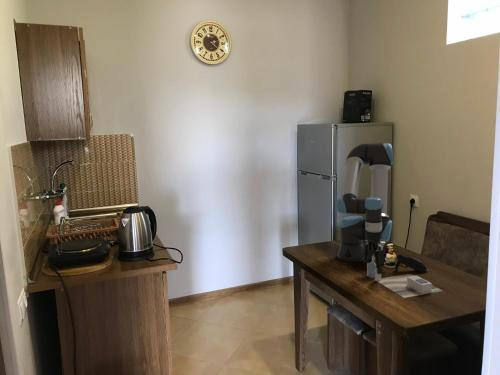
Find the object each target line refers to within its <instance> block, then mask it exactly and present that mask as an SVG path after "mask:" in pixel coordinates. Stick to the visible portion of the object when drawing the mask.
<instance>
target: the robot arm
mask: <svg viewBox="0 0 500 375" xmlns="http://www.w3.org/2000/svg"><path fill="white" fill-rule="evenodd" d="M394 163H395V162H394V153H393V146H392V144H390V143H387V142H386V143H384V142H382V143H378V142H377V143H360V144H358V145H356V146H355V147H354V148H352V149H351V150H350V151H349V153H348V154H347V156H346V159H345V165H346V170H345V171H346V172H345V177H344V184H343V190H342V197H338V198H337V200H336V211H337V213H340V214H356V215H349V216H345V217H343V218H341V220H340V245H339V248H338V252H337V258H338V259H339V260H340V261H343V262H348V263H360V262H363V261H365V263H366V271H367V272H366V277H369V264H370V263H371V262H372V256H374V262H375V264H376V266H375V278H374V279H375V281H376V282H377V281H378V280H381V278H382V268H384V267H385V246H384V245H381V242H382V243H385V242H386V243H387V242H389V241H390V239H391V238H390V237H391V232H392V226H393V221H392V220H391V219H390V216H389V215H388V214H387V213H388V184H389V182H388V181H389V178H388V177H389V175H388V174H389V170H390V169H391V168H392V165H394ZM364 165H368V168H369V169H370V171H371V181H370V197H366V198H358V196H359V189H360V188H359V187H360V181H361V180H360V179H361V174H362V173H361V172H362V168H363V167H364ZM359 214H360V215H359ZM362 215H365V219H364V218H363V216H362Z"/></svg>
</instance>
